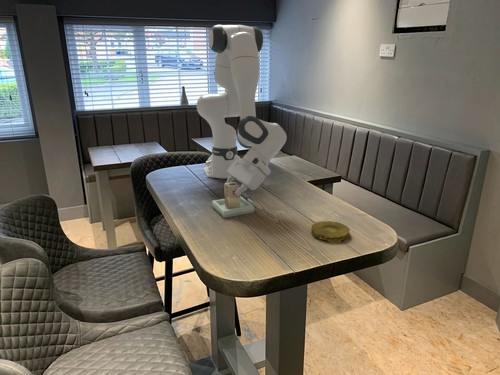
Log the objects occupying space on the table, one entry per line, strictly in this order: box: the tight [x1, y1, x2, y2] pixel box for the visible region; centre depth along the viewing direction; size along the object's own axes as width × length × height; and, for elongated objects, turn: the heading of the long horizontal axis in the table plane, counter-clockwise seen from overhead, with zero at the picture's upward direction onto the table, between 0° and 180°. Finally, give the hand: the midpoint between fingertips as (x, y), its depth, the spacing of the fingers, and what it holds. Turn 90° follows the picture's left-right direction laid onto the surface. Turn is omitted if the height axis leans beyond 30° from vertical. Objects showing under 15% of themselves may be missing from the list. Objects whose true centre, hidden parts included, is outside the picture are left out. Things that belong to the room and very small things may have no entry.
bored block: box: [223, 181, 241, 209], centre depth 139 cm, size 5×4×9 cm
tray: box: [211, 195, 255, 219], centre depth 141 cm, size 12×12×2 cm
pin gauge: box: [240, 192, 257, 206], centre depth 149 cm, size 11×2×2 cm, turn 26°
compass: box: [310, 220, 351, 243], centre depth 121 cm, size 12×12×2 cm
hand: (230, 190), depth 138 cm, fingers open, 8 cm apart
